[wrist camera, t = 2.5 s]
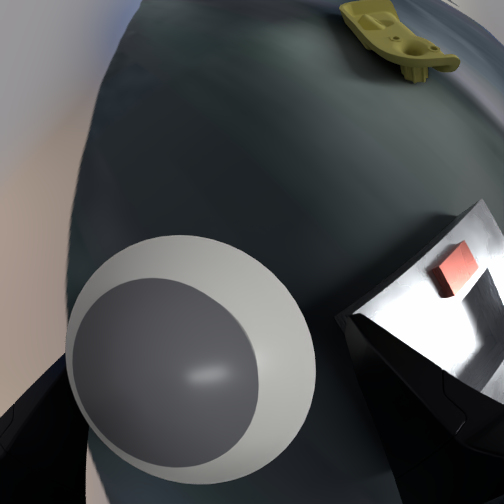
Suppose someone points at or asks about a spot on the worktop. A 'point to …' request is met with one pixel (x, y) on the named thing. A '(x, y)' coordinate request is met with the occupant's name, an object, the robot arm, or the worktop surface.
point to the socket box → (449, 301)
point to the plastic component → (395, 39)
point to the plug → (190, 360)
